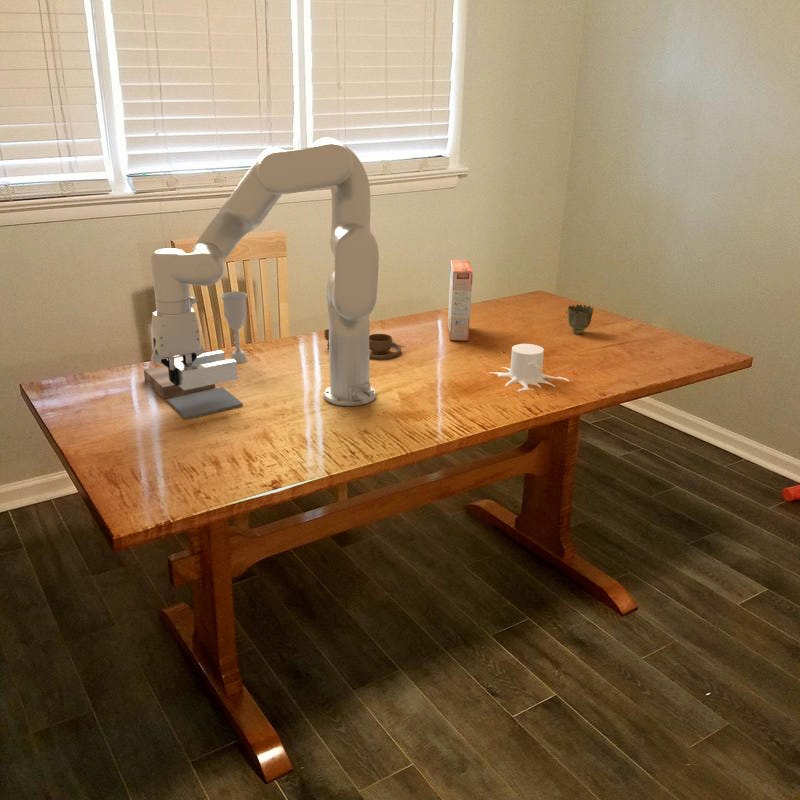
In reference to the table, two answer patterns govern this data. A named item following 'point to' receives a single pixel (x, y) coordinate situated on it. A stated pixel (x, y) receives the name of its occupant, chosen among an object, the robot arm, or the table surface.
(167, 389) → the stand
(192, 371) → the c link
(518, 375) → the tree stump
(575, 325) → the cup
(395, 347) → the place setting
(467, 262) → the cracker box
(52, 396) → the table surface
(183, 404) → the mat
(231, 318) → the chalice
